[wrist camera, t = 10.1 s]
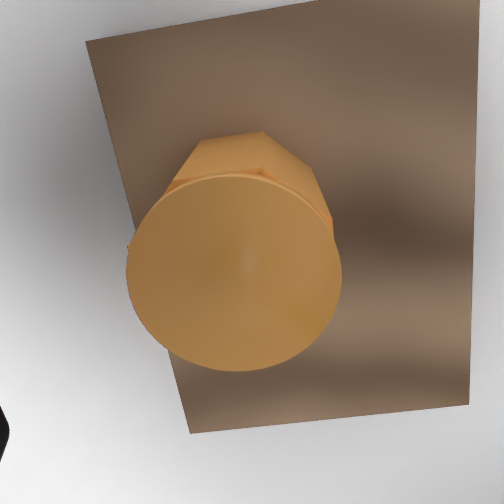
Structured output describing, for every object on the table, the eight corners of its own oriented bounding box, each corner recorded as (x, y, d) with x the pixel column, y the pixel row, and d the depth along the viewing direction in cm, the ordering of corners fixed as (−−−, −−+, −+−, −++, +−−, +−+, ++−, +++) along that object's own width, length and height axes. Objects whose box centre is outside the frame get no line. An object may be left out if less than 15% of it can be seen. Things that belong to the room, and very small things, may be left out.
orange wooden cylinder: (322, 262, 17) (349, 359, 12) (187, 279, 18) (153, 381, 12) (307, 122, 16) (332, 161, 10) (157, 145, 16) (100, 194, 10)
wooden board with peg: (455, 381, 21) (531, 510, 15) (194, 409, 22) (169, 541, 16) (460, -22, 15) (589, -70, 9) (100, 42, 16) (4, 36, 10)
